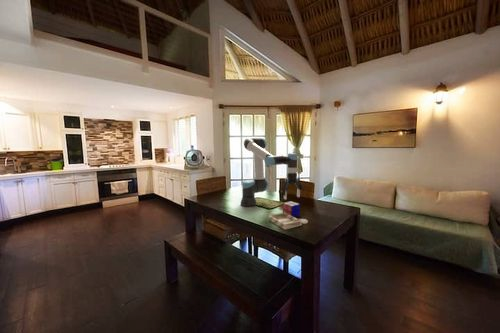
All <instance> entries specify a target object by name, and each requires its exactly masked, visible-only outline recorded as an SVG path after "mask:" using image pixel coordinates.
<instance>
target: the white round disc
mask: <svg viewBox="0 0 500 333" xmlns="http://www.w3.org/2000/svg"><path fill="white" fill-rule="evenodd" d="M298 219H299V220H301V221H302V225H303V224H304V225H305V224H308V223H309V221H308V220H307V219H306V218H298Z"/></svg>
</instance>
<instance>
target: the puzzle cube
mask: <svg viewBox="0 0 500 333" xmlns="http://www.w3.org/2000/svg"><path fill="white" fill-rule="evenodd" d="M300 206H301V204H300V203H298V202H294V201H287V202H286V201H285V202H283V204H282V213H287V214H289V215H291V216H293V217H295V218H296V217H299V216H300V209H301V207H300Z"/></svg>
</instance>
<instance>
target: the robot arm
mask: <svg viewBox="0 0 500 333" xmlns="http://www.w3.org/2000/svg"><path fill="white" fill-rule="evenodd" d="M243 146H244V149H246V150H247V151H249V152H251V153H252V154H253V157H254V158H253V161H254V178H253V179H246V180H244V181H242V185H241V188H242V190H241V191H242V197H241V200H240V206H241V207H245V208H252V207H256V206H257V201H256V197H255V194H256V193H257V194H258V193H263V192H266V191H267V190H268V188H269V182H268V180H266V177H265V173H264V170H265V169H264V164H265V165H266V166H270V167H271V166H278V165H287V178H284V182H283V183H282V186H281V189H280V190H281V191H282V195H283V200H287V195H288V193H287V190H288V189H289V187H290V186H291V185H295V187H296V188H297V189H296V197H297V198H300V196H301V190H302V189H303V184H302V183H301V179H300V177H298V173H297V172H298V154H297V153H295V152H294V153H293V152H292V153H291V152H290V153H287V155H284V154H279V155H273V154H271V153H269V152H268V151H267V150H265V148H266V147H267V141H266V139H265V137H263V136H262V137H261V136H250V137H247V138H246V139H245V140H244V141H243Z"/></svg>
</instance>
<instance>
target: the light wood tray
mask: <svg viewBox="0 0 500 333" xmlns="http://www.w3.org/2000/svg"><path fill="white" fill-rule="evenodd" d="M299 219H300V218H296V217H293V216H291V215H289V214H287V213H283V212H281V213H275V214H270V215H268V220H269V221H270V222H272V223H274V224H275V225H276V226H278V227H280V228H282V229H283V230H289V229H292V228H297V227H300V226H302V225H303V224H302V221H301V220H299Z"/></svg>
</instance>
